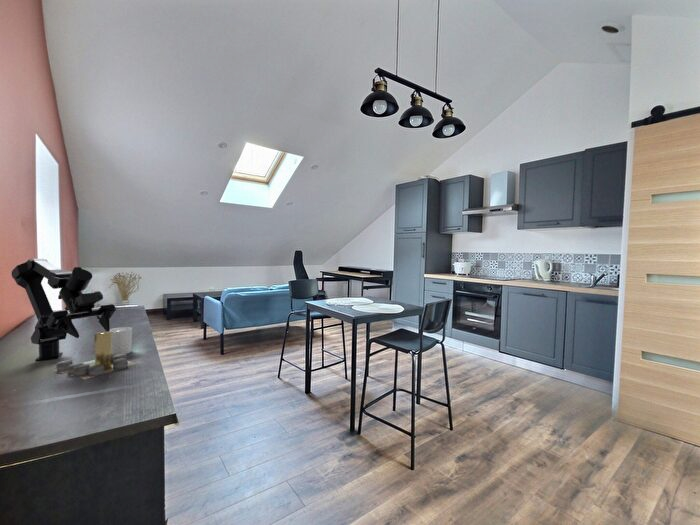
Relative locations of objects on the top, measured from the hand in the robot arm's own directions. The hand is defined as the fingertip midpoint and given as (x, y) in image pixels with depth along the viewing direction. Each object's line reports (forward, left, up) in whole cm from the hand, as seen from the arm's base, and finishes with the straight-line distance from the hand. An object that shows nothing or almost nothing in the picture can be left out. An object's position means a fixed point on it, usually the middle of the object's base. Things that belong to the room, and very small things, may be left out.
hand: (94, 334), depth 111 cm
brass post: (+4, +3, -11) cm, 12 cm away
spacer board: (+1, +1, -12) cm, 12 cm away
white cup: (-14, +6, -12) cm, 20 cm away
